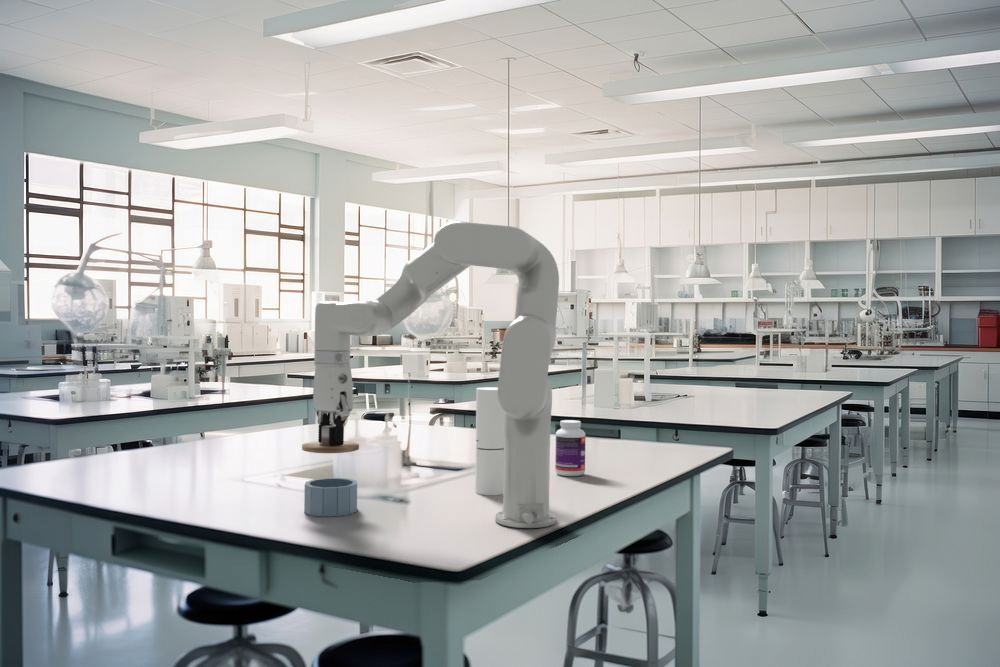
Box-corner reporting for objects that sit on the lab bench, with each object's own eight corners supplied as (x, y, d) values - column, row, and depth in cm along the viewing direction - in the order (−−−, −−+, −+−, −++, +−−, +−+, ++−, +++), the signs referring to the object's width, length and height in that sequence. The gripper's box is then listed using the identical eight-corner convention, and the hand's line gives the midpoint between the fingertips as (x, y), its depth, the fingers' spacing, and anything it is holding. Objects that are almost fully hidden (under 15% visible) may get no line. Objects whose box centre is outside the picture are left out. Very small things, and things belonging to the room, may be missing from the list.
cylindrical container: (498, 488, 202) (499, 387, 202) (509, 494, 196) (510, 389, 195) (471, 490, 200) (472, 387, 199) (481, 496, 193) (482, 390, 193)
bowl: (356, 516, 172) (357, 487, 172) (303, 517, 171) (303, 488, 170) (357, 504, 183) (357, 477, 183) (306, 505, 181) (306, 478, 181)
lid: (357, 453, 171) (357, 430, 171) (298, 453, 170) (299, 430, 170) (360, 444, 183) (360, 422, 183) (305, 444, 182) (305, 422, 182)
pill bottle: (586, 477, 218) (587, 423, 217) (556, 477, 218) (557, 423, 217) (583, 471, 226) (584, 419, 225) (554, 471, 226) (554, 419, 225)
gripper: (367, 360, 172) (365, 447, 173) (329, 356, 185) (328, 437, 185) (335, 361, 167) (333, 450, 168) (298, 357, 180) (297, 440, 181)
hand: (330, 443), depth 177 cm, fingers closed on lid, 4 cm apart
